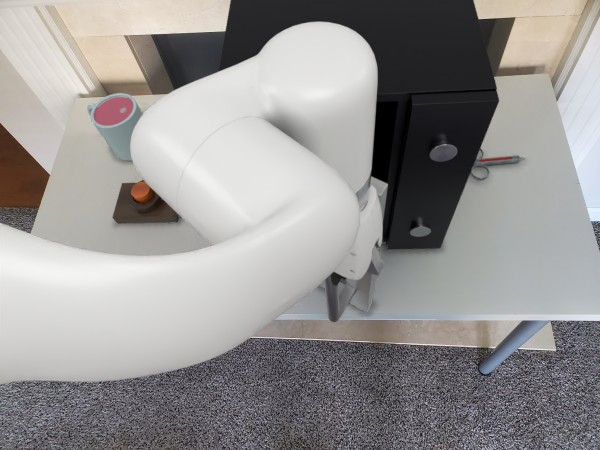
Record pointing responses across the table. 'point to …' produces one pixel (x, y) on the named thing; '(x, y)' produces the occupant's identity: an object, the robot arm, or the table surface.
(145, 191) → the button
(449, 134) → the microwave
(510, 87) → the table surface
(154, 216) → the button block
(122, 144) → the mug
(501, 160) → the syringe
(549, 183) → the table surface
